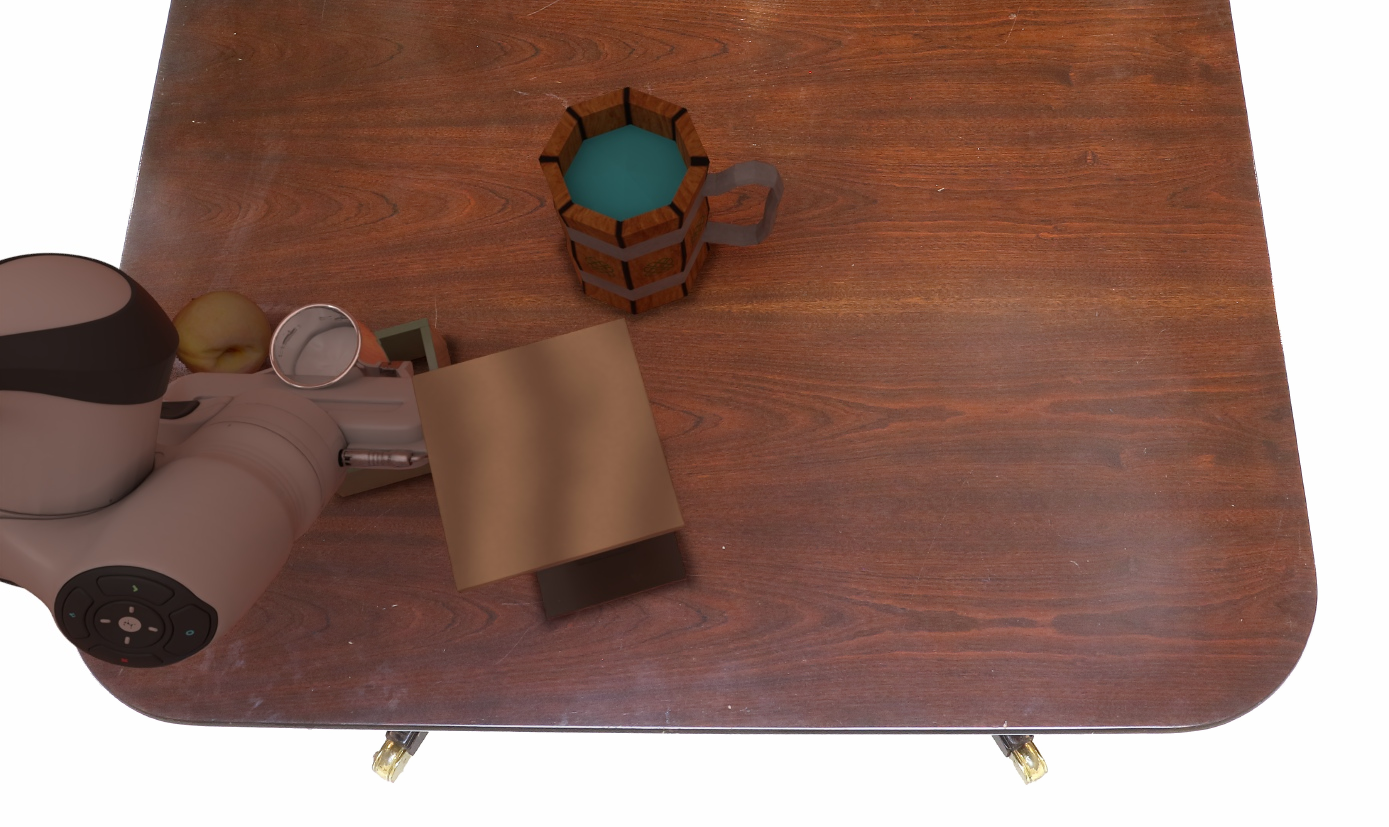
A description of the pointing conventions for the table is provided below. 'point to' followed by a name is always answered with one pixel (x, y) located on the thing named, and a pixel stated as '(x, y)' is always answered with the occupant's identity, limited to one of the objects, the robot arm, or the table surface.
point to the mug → (643, 198)
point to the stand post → (611, 575)
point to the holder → (400, 346)
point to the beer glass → (326, 347)
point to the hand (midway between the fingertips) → (351, 368)
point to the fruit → (222, 334)
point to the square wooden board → (544, 455)
